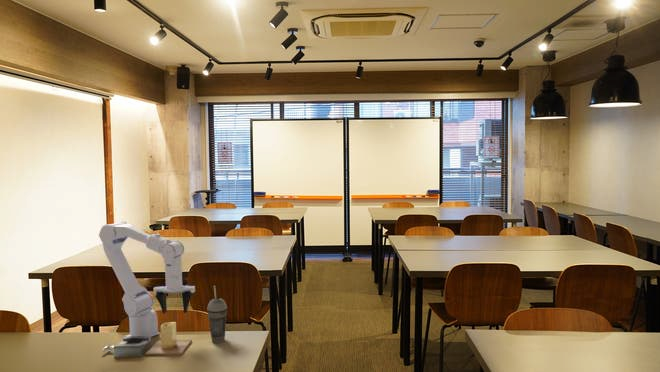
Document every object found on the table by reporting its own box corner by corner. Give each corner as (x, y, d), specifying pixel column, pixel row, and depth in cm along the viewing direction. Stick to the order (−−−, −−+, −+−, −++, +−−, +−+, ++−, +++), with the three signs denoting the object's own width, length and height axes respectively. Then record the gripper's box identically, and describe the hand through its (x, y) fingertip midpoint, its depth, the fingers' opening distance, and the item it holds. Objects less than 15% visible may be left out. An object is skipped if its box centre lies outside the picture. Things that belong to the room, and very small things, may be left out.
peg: (165, 344, 166) (164, 322, 166) (176, 344, 166) (175, 322, 166) (161, 349, 162) (160, 326, 162) (172, 348, 162) (172, 325, 162)
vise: (110, 347, 167) (110, 336, 167) (151, 346, 167) (150, 335, 167) (98, 357, 158) (97, 346, 158) (141, 356, 158) (140, 345, 158)
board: (158, 342, 171) (158, 340, 171) (191, 341, 171) (191, 339, 171) (145, 356, 159) (145, 353, 159) (181, 355, 159) (181, 353, 159)
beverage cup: (216, 346, 166) (215, 290, 165) (203, 341, 171) (201, 287, 170) (232, 339, 172) (231, 285, 171) (219, 335, 176) (217, 282, 175)
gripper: (149, 278, 167) (151, 316, 168) (190, 277, 167) (191, 315, 168) (156, 273, 174) (158, 310, 175) (196, 272, 174) (197, 309, 175)
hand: (175, 312), depth 172 cm, fingers open, 7 cm apart
